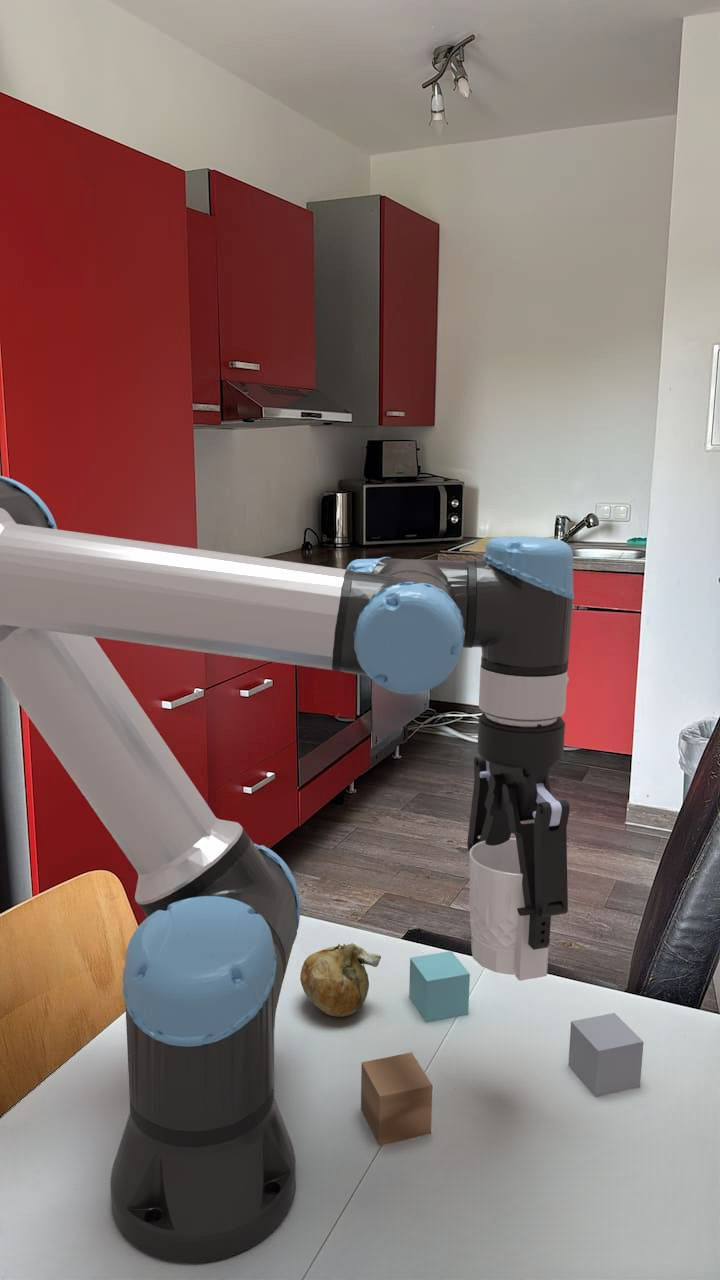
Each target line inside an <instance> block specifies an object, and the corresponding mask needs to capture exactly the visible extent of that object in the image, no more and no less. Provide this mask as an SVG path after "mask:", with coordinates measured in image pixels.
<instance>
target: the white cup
mask: <svg viewBox="0 0 720 1280" xmlns="http://www.w3.org/2000/svg"><path fill="white" fill-rule="evenodd" d="M468 853H469V855H468V856H469V916H470V918H469V923H470V924H469V926H470V929H471V934H470V935H471V937H470V939H471V940H470V941H471V942H470V943H471V944H470V945H471V947H470V949H471V954H472V959H473V960H474V961H475V962H476V963H478V964H479V965H480V966H481V967H482V968H484V969H487V970H489V971H491V972H494V973H498V974H505V975H511V976H512V975H513V976H514V975H516V956H517V937H518V918H519V913H518V910H517V908H523V907H525V904H524V896H523V888H522V878H523V874H521V873H520V865H519V857H518V850H517V842H516V837H514V838H513V837H510V839H509V840H508V841H506V842H504V843H502V844H500V845H495V846H491V845H487V844H486V841H485V840H484V841H481V842H479V843H477V844H475V845H474V846H473V847H472V848H471V849H470V851H469V852H468Z"/></svg>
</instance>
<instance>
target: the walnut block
mask: <svg viewBox="0 0 720 1280" xmlns="http://www.w3.org/2000/svg"><path fill="white" fill-rule="evenodd" d="M360 1070H361V1075H360V1076H361V1080H360V1081H361V1082H360V1110H361V1113H362V1115H363V1117H364V1118H365V1121H366V1122H367V1124H368V1127H369V1129H370V1131H371V1132H372V1135H373V1137H374V1139H375V1141H376V1143H377V1145H378V1146H384V1145H389V1144H393V1143H397V1142H401V1141H406V1140H410V1139H414V1138H418V1137H423V1136H427V1135H431V1134H432V1114H433V1112H432V1110H433V1107H432V1106H433V1084H432V1082H431V1080H430V1079H429V1078H428V1075H427V1074H426V1072H425V1071H424V1069H423V1068H422V1066H421V1065H420V1063H419V1062H418V1059H416V1057H415V1055H414V1054H413V1052H408V1053H402V1054H397V1055H396V1054H395V1055H391V1056H386V1057H382V1058H376V1059H373V1060H371V1059H370V1060H367V1061H362V1062H361V1069H360Z"/></svg>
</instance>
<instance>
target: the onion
mask: <svg viewBox="0 0 720 1280" xmlns="http://www.w3.org/2000/svg"><path fill="white" fill-rule="evenodd" d="M381 958H382V956H381V955H380V954H377V953H372V952H367V951H366V950H365V948H362V947H361V946H359V945H357V944H354V943H353V942H351V943H350V944H347V945H346V944H345V943H343V945H341V944H340V943H338V945H336V946H331V947H328V948H324V949H321V950H319V951H316V952H314V953H312V954H310V955H309V956H307V957H306V958H305V960H304V961H303V964H302V966H301V971H300V978H299V980H300V983H301V986H302V987H301V988H302V989H303V991H304V992H303V993H304V994H305V995H306V996H307V997H308V999H309V1000H310V1002H311V1003H313V1004H314V1005H315V1006H316V1008H317V1007H318V1009H320V1011H321V1012H323V1013H324V1014H326V1015H328V1016H331V1017H340V1018H341V1017H342V1018H343V1017H348V1016H350V1015H353V1014H355V1013H356V1012H357V1011H359V1010H360V1008H362V1006H363V1004H364V1003H365V1002H366V999H367V997H368V994H369V993H368V992H369V987H370V981H369V975H368V972H367V970H366V967H365V965H367V966H368V965H369V966H371V967H374V968H377V967H378V966H379V964H380V962H381Z"/></svg>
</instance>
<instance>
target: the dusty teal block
mask: <svg viewBox="0 0 720 1280" xmlns="http://www.w3.org/2000/svg"><path fill="white" fill-rule="evenodd" d="M470 977H471V974H470V972H469V971H468V970H467V969H466V967H465V966H464V964H462V962H461V961H460V960H459V959H458V957H457V956H456V955H455V954H454V953H453V951H452V950H449V951H444V952H437V953H430V954H426V955H425V954H423V955H420V956H419V955H418V956H413V957H412V956H411V957H409V985H408V986H409V989H408V991H409V992H408V993H409V994H408V998H409V1000H410V1001H411V1003H412V1004H413V1006H414V1007H415V1009H416V1011H418V1013H419V1015H420V1016H421V1017H422V1019H423V1020H424V1022H425V1023H431V1022H436V1021H437V1022H438V1021H442V1020H448V1019H453V1018H457V1017H463V1016H468V1015H469V1007H470V1006H469V1005H470V1004H469V1003H470V1002H469V1001H470Z"/></svg>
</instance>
